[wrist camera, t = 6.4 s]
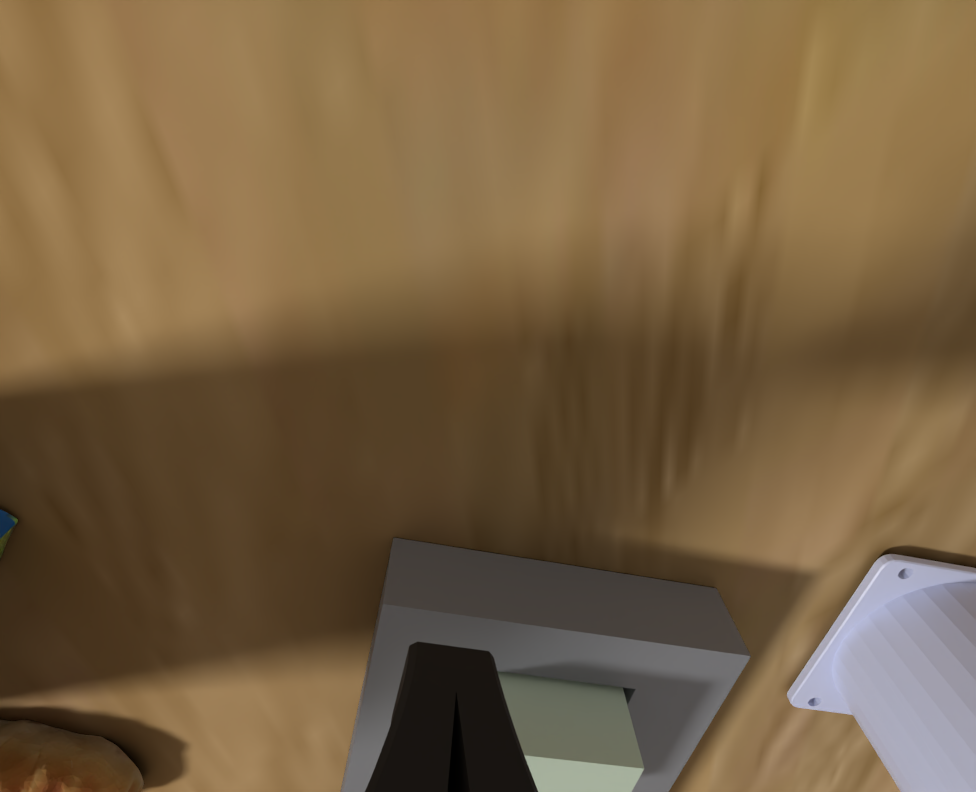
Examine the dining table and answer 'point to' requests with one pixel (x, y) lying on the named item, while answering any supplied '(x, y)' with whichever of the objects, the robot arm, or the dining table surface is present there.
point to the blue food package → (6, 528)
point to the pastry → (62, 761)
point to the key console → (556, 643)
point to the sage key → (573, 733)
